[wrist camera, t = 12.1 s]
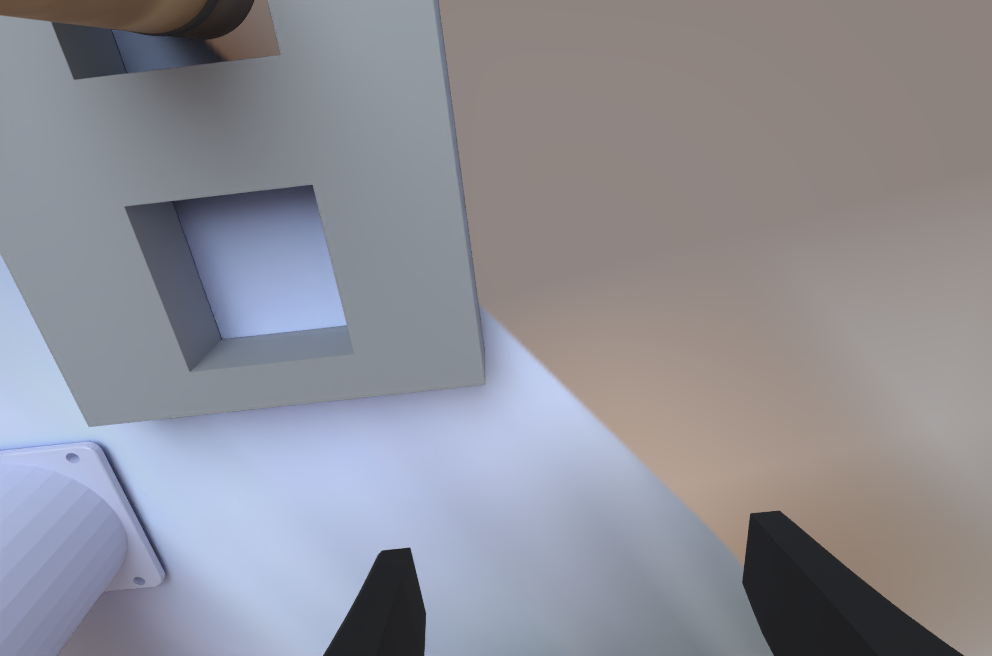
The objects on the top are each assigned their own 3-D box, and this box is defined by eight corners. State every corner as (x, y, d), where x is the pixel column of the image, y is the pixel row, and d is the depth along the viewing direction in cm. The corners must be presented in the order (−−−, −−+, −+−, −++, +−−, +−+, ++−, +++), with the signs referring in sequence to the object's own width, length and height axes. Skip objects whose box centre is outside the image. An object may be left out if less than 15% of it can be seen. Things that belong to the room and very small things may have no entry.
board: (130, 389, 21) (89, 426, 19) (-146, -215, 14) (-268, -272, 12) (484, 351, 21) (485, 384, 19) (400, -290, 14) (384, -362, 11)
